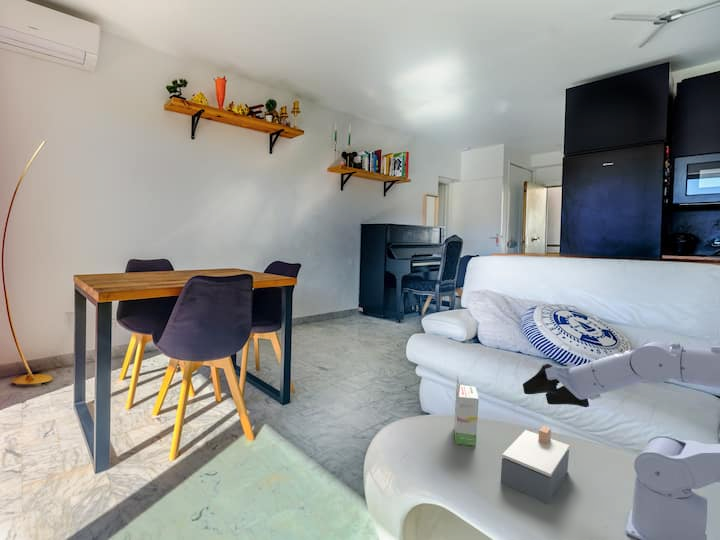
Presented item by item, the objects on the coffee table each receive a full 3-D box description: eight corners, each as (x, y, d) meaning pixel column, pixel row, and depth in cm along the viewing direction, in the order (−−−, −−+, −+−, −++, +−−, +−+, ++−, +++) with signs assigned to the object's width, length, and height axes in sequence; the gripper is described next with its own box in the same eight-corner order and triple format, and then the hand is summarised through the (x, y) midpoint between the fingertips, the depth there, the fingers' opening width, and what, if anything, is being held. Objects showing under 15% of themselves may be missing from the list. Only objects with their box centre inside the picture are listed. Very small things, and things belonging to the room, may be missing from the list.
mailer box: (567, 471, 78) (569, 449, 78) (548, 504, 68) (550, 478, 68) (523, 454, 84) (525, 433, 84) (500, 482, 74) (502, 458, 74)
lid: (569, 447, 78) (570, 433, 78) (550, 477, 68) (551, 461, 68) (525, 432, 84) (526, 419, 84) (502, 456, 74) (503, 442, 74)
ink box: (476, 447, 87) (480, 386, 86) (455, 444, 88) (458, 384, 87) (473, 429, 95) (476, 374, 94) (453, 427, 96) (456, 372, 95)
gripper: (615, 367, 73) (552, 385, 82) (572, 343, 67) (510, 365, 77) (628, 403, 69) (560, 417, 78) (583, 380, 63) (516, 399, 72)
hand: (536, 394), depth 77 cm, fingers open, 7 cm apart
